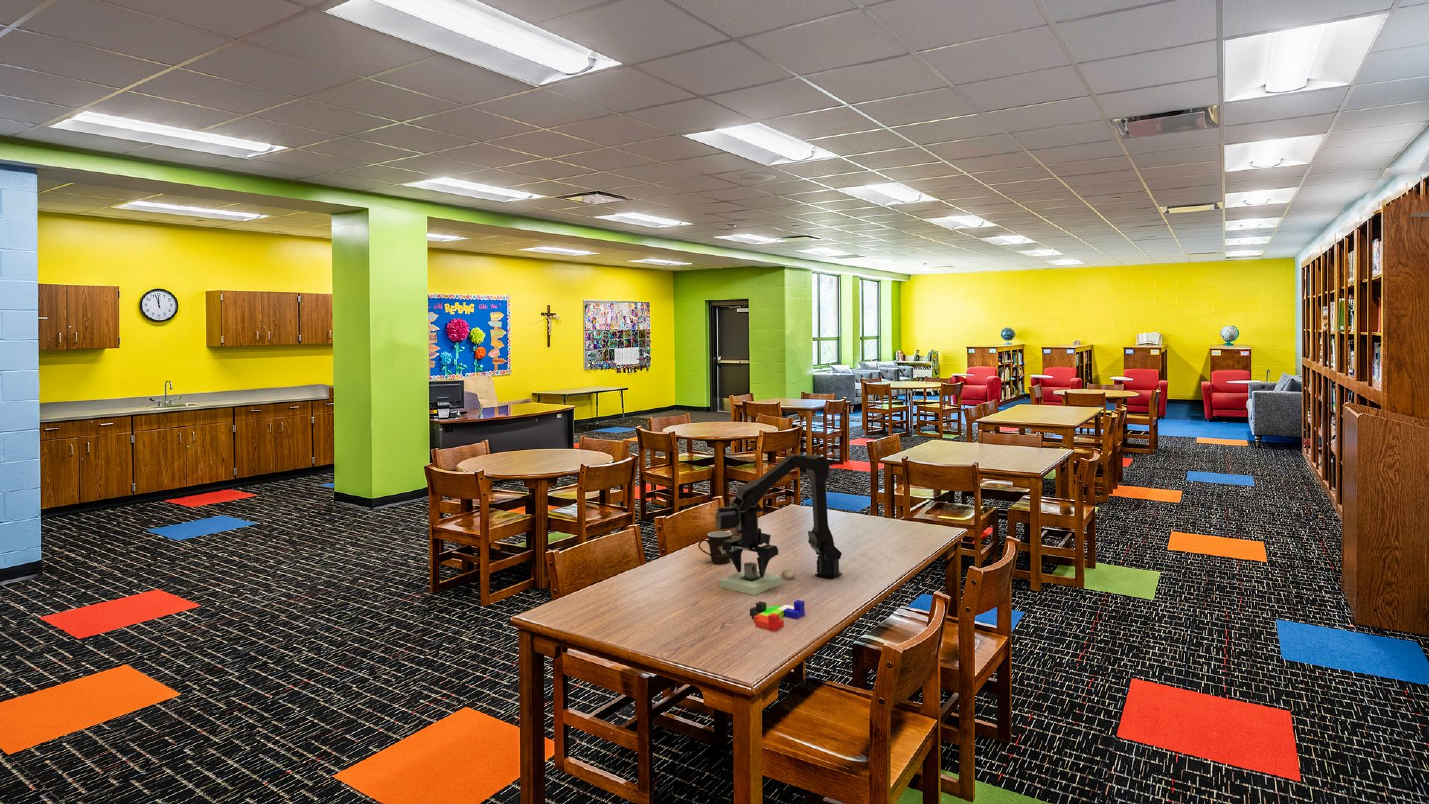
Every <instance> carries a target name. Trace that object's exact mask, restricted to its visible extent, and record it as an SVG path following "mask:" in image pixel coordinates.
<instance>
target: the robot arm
mask: <svg viewBox="0 0 1429 804" xmlns="http://www.w3.org/2000/svg"><path fill="white" fill-rule="evenodd" d="M797 468H799V469H805V471H806V474H807V477H808V479H809V482H810V487H811V502H812V515H813V516H812V519H813V526H812V529H811V530H808V531H807V535H808V541H807V543H808V544H809V545H810V548H811V549H813V550H814V552H815V554H816V555H818V556H817V560H816V573H815V574H814V576H816V577H820V578H825V579H829V580H833V579H835V578H838V577H839V576H841V575H842V574H843V572H840V560H841V557H842V551H841V550H839V549H838V548H837V547H836V546H835V541H834V537H833V534H832V532H831V530H830V527H829V521H828V520H829V519H828V503H827V488H826V487H827V485H826V483H827V481H828V477H829V474H830V461H829V459H827V457H825V456H822V455H818V454H810V455H808V456H806V455H800V454H799V455H798V454H793V453H789V454H787V455H786V456H785V457H784V458H783V459H781V461H779V462H778V463H776V465H774V466H773V467H771V468H770V469H769V470H767V471H766V472H765V473H764V474H763V475H762V476H760V477H758V478H757V479H755V480H751V481H749V482H747V483H745V484H743V485H742V486H739V488H738V489H737V491H736V496H735V497H736V498H735V499H734V501H733V502H732V504H731V507H730V506H725V507H724V506H718V507H717V508H716V510H717V511H716V514H715V526H716V529H718V530H725V529H726V530H727V529H730V528H736V527H737V526H739V523H740V529H739V530H738V533H739V534H740V539H735V538H732V539H729V540H725V541H724V542H723V544H722V550H726V551H725V552H726V553H727V554H728V555H729V557H730V561H731V562H732V564H733V566H734V567H735V569H736V571H737V573H738V572H741V571H742V553H743V551H748V552H753V553H757V554H756V555H757V557H756V562H757V569H758V571H759V573H760V577H764V574H765V573H766V570H767V567H768V564H769V562H770V560H771V559H773V558H775V557H776V556H778V555H779V547H778V546H777V545H773V544H770V543H771V542H770V541H771V537H772V535H771V534H769V533H768V534H767V533H764V532H762V528H761V527H760V528H759V518H758V517H759V513H760V512H761V513H762V512H765V509H764V508H763V507H762V506H760V503H759V502H760V501H761V500H762V499H763V497H764V496H765V495H766V493H767V491H768V490H770V488H772V487H773V486H774V485H775V484H777V483H778V482H779V481H780V480H782V479H783V478H784V477H786V476H787V475H788V474H789V473H791V472H792V471H793V470H794V469H797ZM764 544H765V545H764Z"/></svg>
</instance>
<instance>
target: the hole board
mask: <svg viewBox="0 0 1429 804" xmlns="http://www.w3.org/2000/svg"><path fill="white" fill-rule="evenodd" d="M782 584H783V579H782V575H777V574H772V573H768V572H765V574H764V577H760V573H759V570H757V580H756V581H753V582H750V581H746V580H745V576H744V570H741V572H738V571H737V572H736V573H734V574H731V575H728V576H726V577H723V578H720V579H719V588H721V589H725V588H726V589H725V590H729V591H733V592H737V591H739V592H738V593H742V592H743V593H742V594H746V593H747V594H746V595H750V594H752V595H751V596H754V595H755V596H756V594H757V595H759V594H762V593H764V592H766V590H767V591H769V590H771V589H773V588H776V587H778V586H781V585H782ZM777 585H778V586H777ZM775 586H776V587H775ZM770 588H771V589H770ZM768 589H769V590H768ZM763 591H764V592H763ZM761 592H762V593H761Z"/></svg>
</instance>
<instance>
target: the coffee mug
mask: <svg viewBox="0 0 1429 804" xmlns="http://www.w3.org/2000/svg"><path fill="white" fill-rule="evenodd" d="M729 539H732V533H731V531H725V530H722V531H721V530H717V531H711V532H709V533H707V539H705V538H703V539H701V540H699V542H698V546H697V547H698V548H699V550H700V551H702V552H703V553H704V554H706V555H708V556H710V559H711V563H712V564H713V565H727V564H729V563H730V562H731V559H730V557H729V555H728V554H727V553H726V552H725V551H726V550H722V544H723V542H724V541H725V540H729ZM702 542H706V543H707V545H708V546H709V552H707V551H706V550H704V549H702V548H701V544H702Z"/></svg>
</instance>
